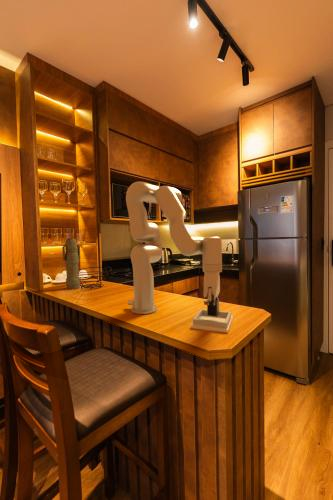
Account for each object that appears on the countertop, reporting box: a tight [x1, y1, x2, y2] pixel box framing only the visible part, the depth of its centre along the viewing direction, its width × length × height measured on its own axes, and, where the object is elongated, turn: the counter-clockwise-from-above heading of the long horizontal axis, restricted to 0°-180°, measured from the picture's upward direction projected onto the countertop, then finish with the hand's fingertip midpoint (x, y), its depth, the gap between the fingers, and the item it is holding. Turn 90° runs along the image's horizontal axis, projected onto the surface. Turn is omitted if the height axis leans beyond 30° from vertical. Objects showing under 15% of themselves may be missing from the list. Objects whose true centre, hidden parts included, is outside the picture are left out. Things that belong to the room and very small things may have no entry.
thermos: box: [61, 237, 81, 290], centre depth 167 cm, size 9×12×35 cm
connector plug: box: [203, 298, 220, 317], centre depth 96 cm, size 6×4×6 cm
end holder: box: [190, 308, 234, 333], centre depth 96 cm, size 14×16×3 cm
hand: (213, 312), depth 96 cm, fingers closed on connector plug, 4 cm apart
